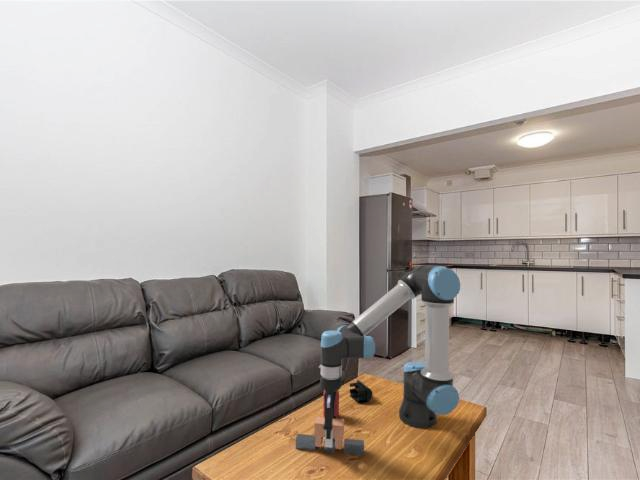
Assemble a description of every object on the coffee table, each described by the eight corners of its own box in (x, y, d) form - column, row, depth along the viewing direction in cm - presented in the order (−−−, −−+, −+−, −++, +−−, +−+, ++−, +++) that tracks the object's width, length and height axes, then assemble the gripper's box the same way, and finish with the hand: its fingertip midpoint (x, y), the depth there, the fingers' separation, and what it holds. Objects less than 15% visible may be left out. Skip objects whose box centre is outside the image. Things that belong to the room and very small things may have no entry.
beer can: (337, 422, 134) (338, 392, 134) (321, 420, 135) (322, 390, 135) (339, 414, 140) (340, 385, 141) (324, 412, 142) (325, 384, 142)
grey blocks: (364, 450, 116) (364, 440, 116) (363, 455, 113) (364, 445, 113) (297, 443, 119) (297, 433, 119) (295, 448, 116) (295, 438, 116)
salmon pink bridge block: (343, 441, 117) (344, 419, 117) (342, 449, 113) (343, 426, 113) (316, 438, 119) (316, 416, 119) (314, 446, 114) (314, 423, 114)
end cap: (372, 402, 152) (372, 387, 152) (359, 404, 149) (359, 389, 149) (362, 393, 161) (362, 379, 161) (349, 395, 158) (349, 381, 158)
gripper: (323, 366, 125) (322, 427, 125) (316, 385, 108) (315, 456, 108) (343, 367, 124) (341, 429, 124) (339, 387, 107) (337, 459, 107)
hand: (329, 442), depth 116 cm, fingers closed on salmon pink bridge block, 4 cm apart
